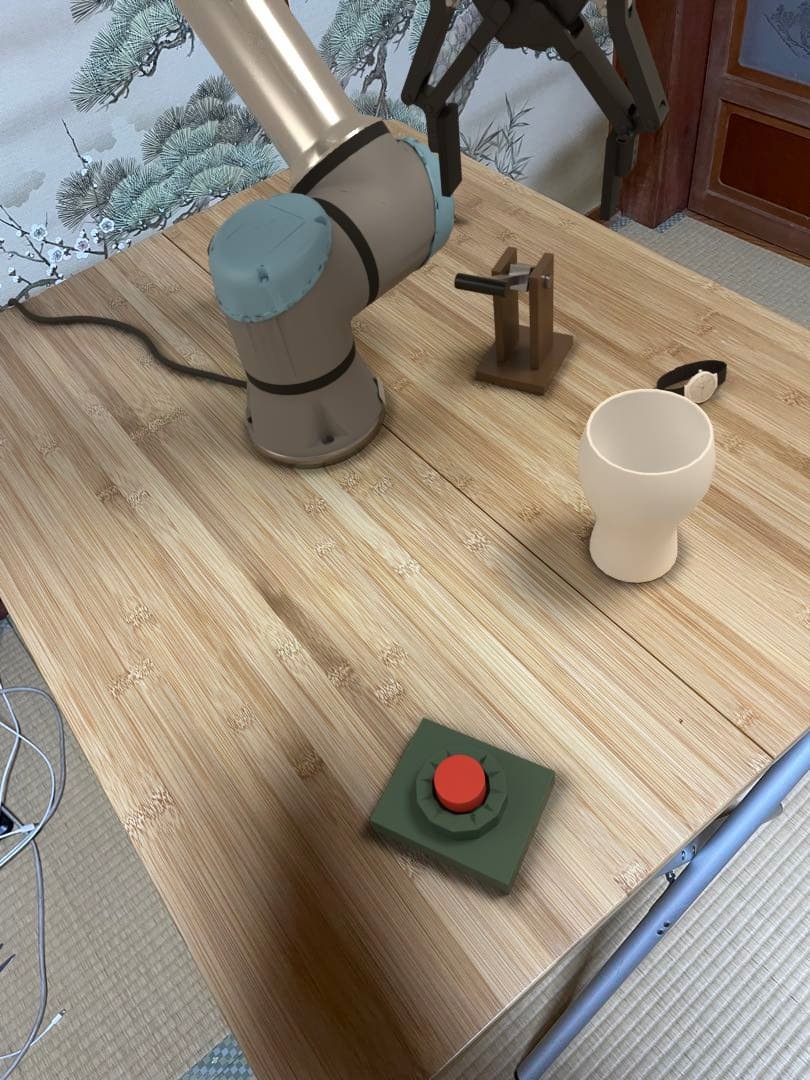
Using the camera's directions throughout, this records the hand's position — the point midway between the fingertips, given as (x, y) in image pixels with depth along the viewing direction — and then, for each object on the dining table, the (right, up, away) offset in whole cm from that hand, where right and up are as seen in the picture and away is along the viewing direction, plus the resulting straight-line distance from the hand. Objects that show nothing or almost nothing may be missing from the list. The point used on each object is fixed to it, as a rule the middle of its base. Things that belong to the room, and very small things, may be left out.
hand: (528, 199), depth 69 cm
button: (-6, -46, -8) cm, 47 cm away
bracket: (+3, -8, +25) cm, 26 cm away
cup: (+11, -29, +7) cm, 32 cm away
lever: (-1, -4, +13) cm, 13 cm away
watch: (+20, -13, +19) cm, 30 cm away
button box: (-6, -48, -6) cm, 49 cm away
